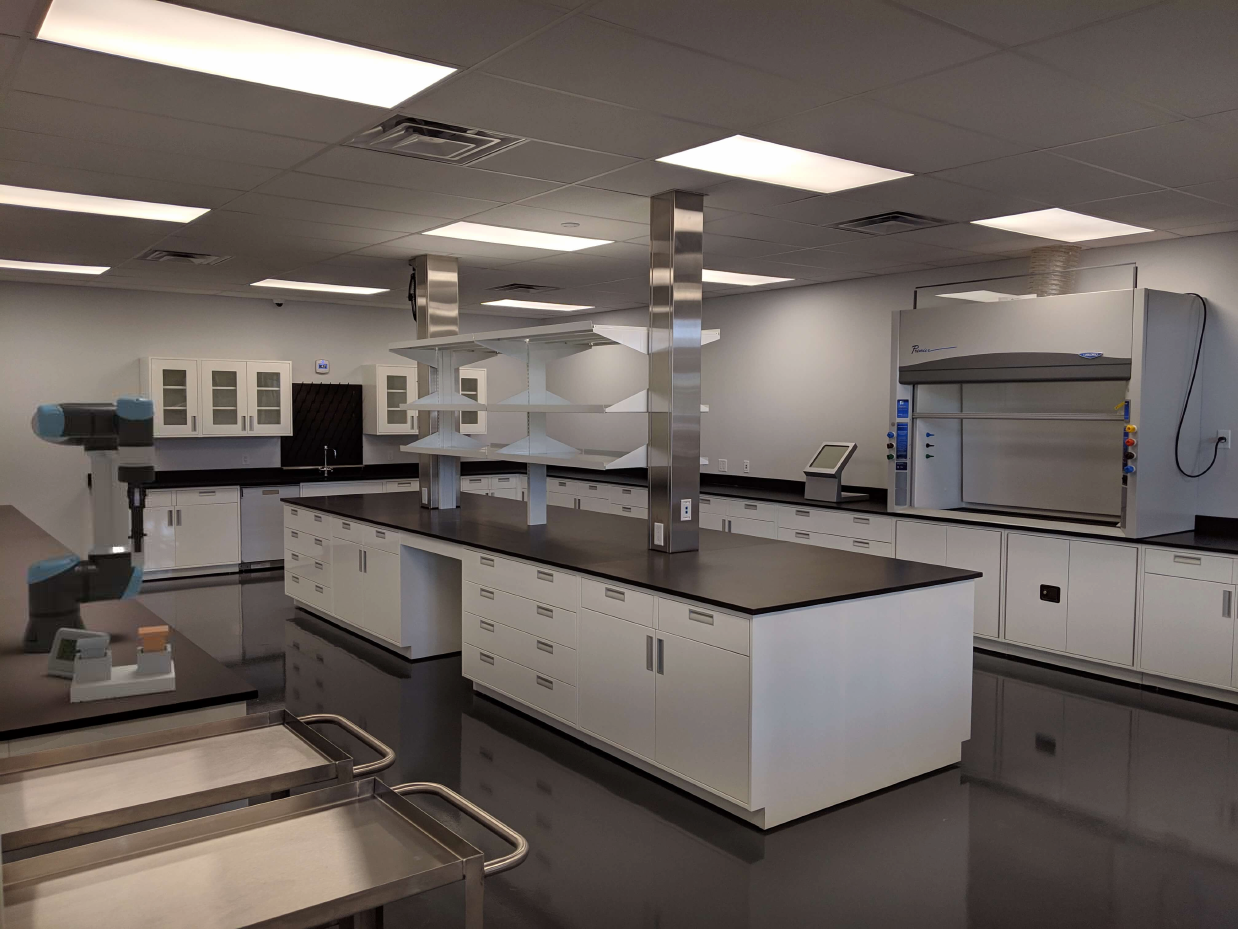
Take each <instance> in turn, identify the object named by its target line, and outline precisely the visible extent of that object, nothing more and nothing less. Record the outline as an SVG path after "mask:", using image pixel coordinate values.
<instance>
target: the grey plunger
mask: <svg viewBox="0 0 1238 929" xmlns="http://www.w3.org/2000/svg"><path fill="white" fill-rule="evenodd" d="M108 644H109V645H110V642H109V636H107V637H96V638H86V639H78V641H77V644H76V650H80V649H81V659H90V658H99V657H105V647H108V648H109V646H108Z"/></svg>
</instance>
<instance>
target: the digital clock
mask: <svg viewBox="0 0 1238 929" xmlns="http://www.w3.org/2000/svg"><path fill="white" fill-rule="evenodd" d="M107 636H109V644H108V647H105V651H107V650H109V649H108V648H109V645H110V641H111V635H110V634H109V633H106V632H101V631H98V630H89V629H87V630H82V629H74V628H73V629H68V628H61V629H59V630H58V631H57V633H56V636H55V640H54V643H53V646H52V650H51V652H49V656H48V660H47V664H46V667H45V671H46V673H47V674H48V675H51V676H56V677H57V676H61V677H60V678H64V677H68V678H67V679H70V678H74V674H75V668H74V660H75V657H76V654H78V653H81V649H80V650H76V644H77V641H78V639H86V638H96V637H107Z"/></svg>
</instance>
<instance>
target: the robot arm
mask: <svg viewBox="0 0 1238 929" xmlns="http://www.w3.org/2000/svg"><path fill="white" fill-rule="evenodd" d="M154 417H155V411H154V402H153V400H152V399H151V398H149V397H148V398H147V397H119V398H118V399H117V400H116V402H65V403H64V402H62V403H56V404H53V403H51V404H41V405H38V407H37V408H36V412H35V413H34V415H33V416H32V418H31V420H30V421H31V422H30V423H31V429H32V431H33V433H34V434H35V435H36V436H37V437H38V438H39V439H40V440H42V441H45V442H47V443H51V444H55V445H61V446H69V447H83V449H84V450H83V452H84V454H85V455H86V457H87V456H88V458H90V464H91V466H90V468H91V469H90V470H91V472H90V473H91V498H92V519H93V520H92V523H93V524H92V525H93V526H92V527H93V528H92V529H93V547H92V548H91V549H90V550H89V551H88V552H87V559H83V560H80V557H79V556H78V555H77V554H76V555H75V554H74V555H73V554H71V555H63V556H61V555H60V556H56V557H49V558H47V559H42V560H38V561H36V562H33V563H32V564H30V566H29V567H28V569H27V580H26V584H27V592H28V594H27V595H28V600H27V602H28V620H27V624H26V626H25V629H24V634H23V636H22V638H21V650H22V651H23V652H27V653H51V650H52V646H53V643H54V640H55V636H56V633H57V631H58V630H59V629H61V628H68V629H73V628H74V629H82V630H88V629H87V627H86V624H85V622H84V620H83V617H82V615H81V605H83V604H91V603H92V604H93V603H100V602H101V603H103V602H111V601H121V600H129V599H133V598H135V597H137V596H138V595H139V593H140V591H141V588H142V584H143V577H144V567H145V564H146V563H145V562H146V561H145V558H146V557H145V537H148V534H147V533H144V531H145V528H144V510H145V509H146V498H147V488H143V483H152V482H154V481H155V479H156V475H155V474H156V473H155V469H156V468H155V466H154V465H153V464H154V463H155V462H156V460H155V443H154V440H155V439H154V438H155V436H154V435H155V432H154V428H155V426H154V425H155V424H154V423H155V421H154V419H155V418H154ZM129 483H130V489H129V488H128V487H129V486H128V485H129ZM129 510H130V513H129ZM129 514H130V516H129ZM130 519H131V520H130ZM130 522H131V523H130ZM130 524H131V526H130ZM130 527H131V529H130Z"/></svg>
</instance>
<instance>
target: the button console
mask: <svg viewBox="0 0 1238 929" xmlns="http://www.w3.org/2000/svg"><path fill="white" fill-rule="evenodd" d="M136 649H137V651H136V660H137V661H136V662H137V663H136V664H130V665H129V664H128V665H122V666H120V665H119V666H113V664H112V663H113V662H112V658H113V657H112V649H107V651H105V657H99V658H90V659H81V653H78V654H76V657H75V660H74V668H75V674H74V678H73V679H72V682H71V686H70V692H69V693H70V704H73V703H72V702H75V703H81V702H80V701H83V702H90V701H96V700H104V699H105V700H106V698H107V699H114V697H115V698H121V697H129V696H137V695H138V696H139V695H147V694H153V693H162V692H163V693H164V692H169V691H170V692H171V691H176V673H175V665H174V660H172V647H171V644H170V643H168V644H166V643H165V651H156V652H147V653H143V646H138V647H137V648H136Z"/></svg>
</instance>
